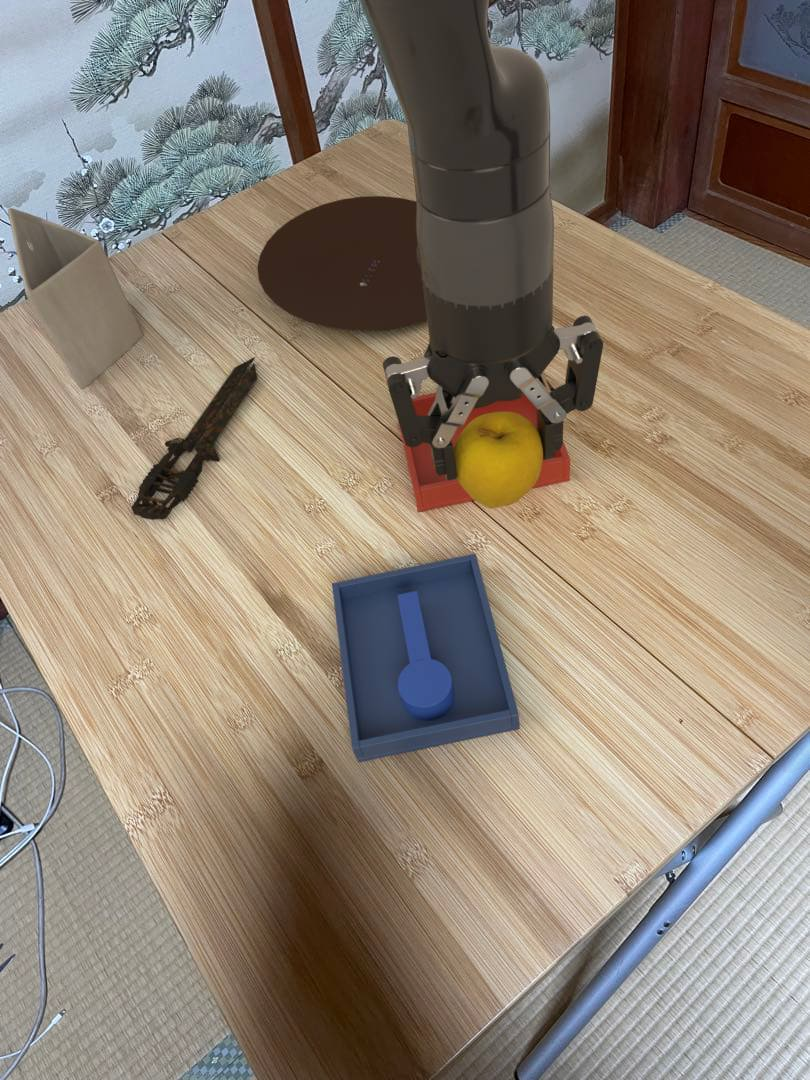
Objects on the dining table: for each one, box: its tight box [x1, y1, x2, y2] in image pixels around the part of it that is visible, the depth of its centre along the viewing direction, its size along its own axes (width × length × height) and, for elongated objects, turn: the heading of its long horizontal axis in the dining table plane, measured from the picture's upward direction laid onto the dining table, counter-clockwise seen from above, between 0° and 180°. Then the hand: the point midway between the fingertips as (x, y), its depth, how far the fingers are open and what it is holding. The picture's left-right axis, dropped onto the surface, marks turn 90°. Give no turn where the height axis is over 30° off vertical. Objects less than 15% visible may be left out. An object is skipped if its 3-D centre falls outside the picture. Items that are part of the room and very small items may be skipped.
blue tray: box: [331, 553, 520, 763], centre depth 71 cm, size 13×16×3 cm
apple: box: [453, 412, 543, 509], centre depth 60 cm, size 6×6×8 cm
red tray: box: [397, 392, 571, 513], centre depth 85 cm, size 15×13×3 cm
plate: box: [257, 195, 427, 331], centre depth 107 cm, size 28×28×4 cm
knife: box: [131, 356, 258, 521], centre depth 92 cm, size 25×6×1 cm, turn 154°
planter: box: [7, 207, 144, 390], centre depth 99 cm, size 16×8×19 cm, turn 11°
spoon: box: [397, 591, 455, 720], centre depth 70 cm, size 11×4×2 cm, turn 9°
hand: (497, 461), depth 60 cm, fingers closed on apple, 6 cm apart
